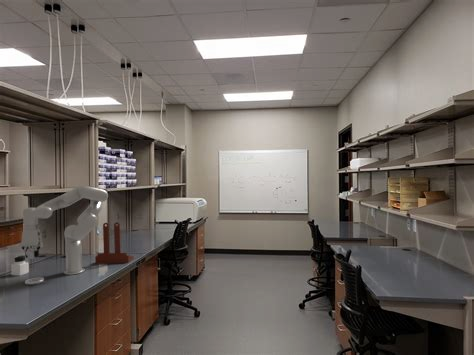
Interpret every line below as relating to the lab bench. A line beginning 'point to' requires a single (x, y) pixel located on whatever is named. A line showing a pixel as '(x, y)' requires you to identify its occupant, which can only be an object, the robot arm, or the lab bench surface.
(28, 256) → the white light bulb
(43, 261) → the lab bench surface
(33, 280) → the shallow grey dish
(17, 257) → the medicine bottle
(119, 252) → the twin post bracket
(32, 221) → the robot arm
